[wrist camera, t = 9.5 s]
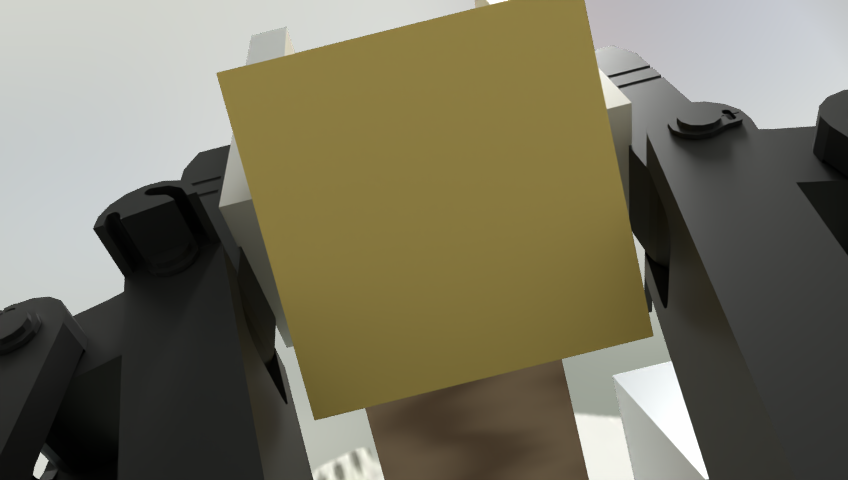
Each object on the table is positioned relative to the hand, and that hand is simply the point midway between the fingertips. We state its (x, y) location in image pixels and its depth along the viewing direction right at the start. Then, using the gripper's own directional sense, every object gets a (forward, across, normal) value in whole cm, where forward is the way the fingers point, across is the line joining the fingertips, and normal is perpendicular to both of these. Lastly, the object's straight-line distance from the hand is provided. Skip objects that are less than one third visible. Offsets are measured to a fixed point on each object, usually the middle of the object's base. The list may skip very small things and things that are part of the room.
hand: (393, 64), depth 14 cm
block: (+2, 0, -7) cm, 7 cm away
